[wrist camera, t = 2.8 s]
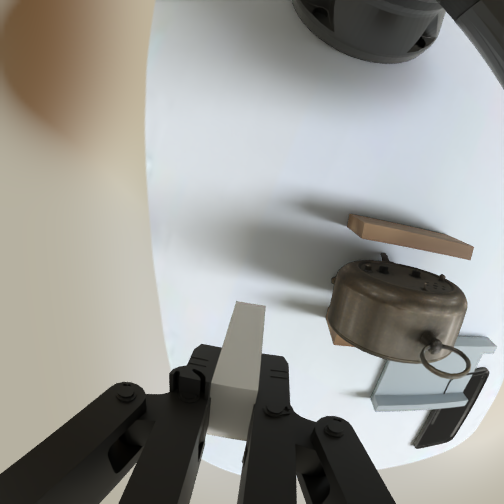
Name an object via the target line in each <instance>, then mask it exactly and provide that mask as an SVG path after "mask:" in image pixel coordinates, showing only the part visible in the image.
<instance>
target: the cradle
mask: <svg viewBox="0 0 504 504" xmlns="http://www.w3.org/2000/svg"><path fill="white" fill-rule="evenodd" d="M496 347H497V346H496V345H495V344H494V343H493V342H492V341H491V340H490V339H489V338H488V337H469V336H458V337H457V339H456V342H455V345H454V348H457V349H459V350H460V351H462V352H463V353H464V354H465V355H466V356H467V357H468V358H469V360H470V362H471V369H470V371H469V373H471V372H474V371H475V369H476V367H477V365H478V363H479V361H480V359H481V357H482V355H483V354H491V353H494V352H495V350H496ZM429 364H430V365H432V366H434V367H435V368H436V369H438V370H441V371H444V372H447V373H451V374H453V373H460V372H462V371H464V370H465V368H466V362H465V361H464V359H463V358H462V357H461V356H459V355H458V354H456V353H454V352H451V354H450V355H449V356H447V357H446V358H444V359H442V360H439V361H437V362H433V363H429ZM471 376H472V375H466V376H465V377H462V378H459V379H453V380H452V381H451V382H450V384H449V386H448V388H447V390H446V392H445V394H443V393H444V391H445V389H446V387H447V385H448V383H449V381H450V380H451V379H446V378H441V377H439V376H437V375H435V374H433V373H431V372H430V371H429V370H427V369H426V368H425V367H424V365H423V364H409V363H400V362H394V361H390V360H387V363H386V365H385V367H384V370H383V372H382V374H381V377H380V379H379V381H378V383H377V385H376V388H375V390H374V392H373V394H372V396H371V401H372V404H373V407H374V410H375V412H390V411H415V410H430V409H441V408H451V407H460V406H465V405H466V403H467V401H468V399H467V398H466V396H465V395H464V393H463V391H464V389H465V387H466V385H467V384H468V382H469V380H470V378H471Z"/></svg>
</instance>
